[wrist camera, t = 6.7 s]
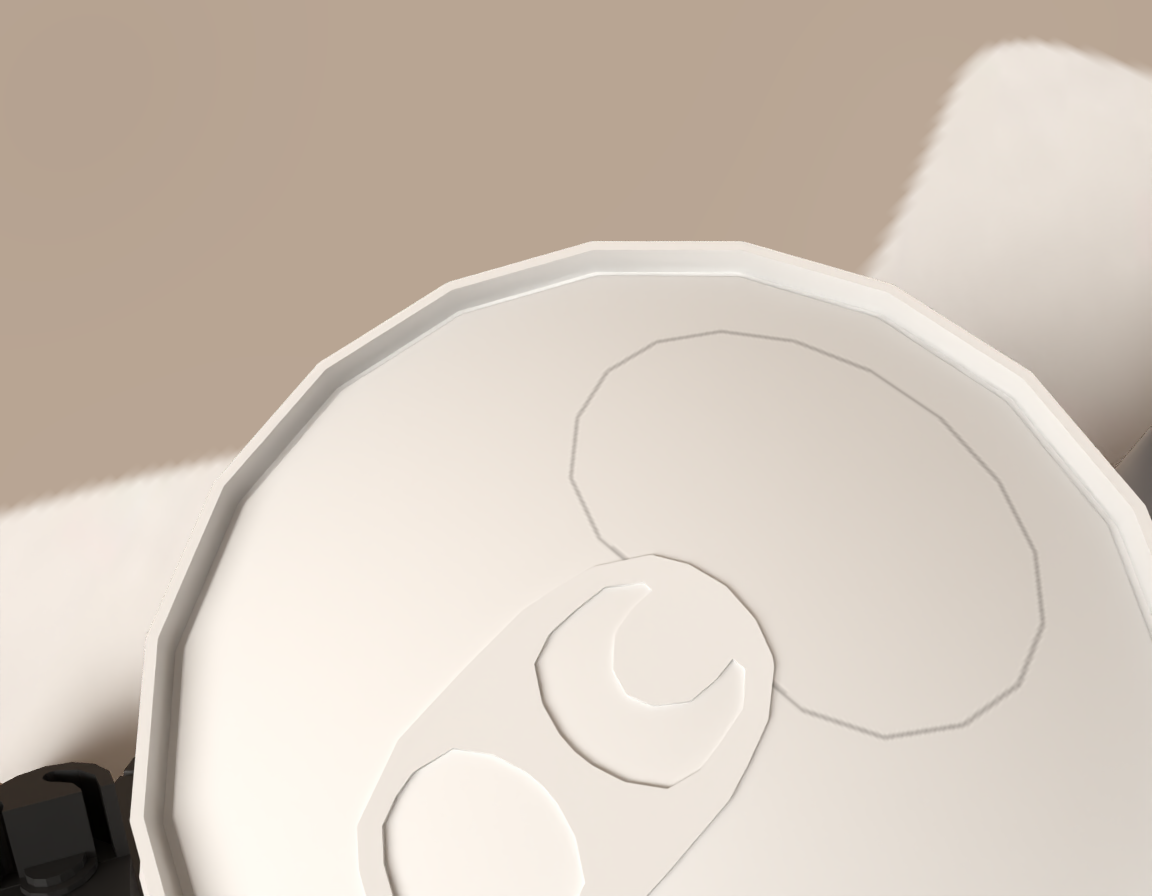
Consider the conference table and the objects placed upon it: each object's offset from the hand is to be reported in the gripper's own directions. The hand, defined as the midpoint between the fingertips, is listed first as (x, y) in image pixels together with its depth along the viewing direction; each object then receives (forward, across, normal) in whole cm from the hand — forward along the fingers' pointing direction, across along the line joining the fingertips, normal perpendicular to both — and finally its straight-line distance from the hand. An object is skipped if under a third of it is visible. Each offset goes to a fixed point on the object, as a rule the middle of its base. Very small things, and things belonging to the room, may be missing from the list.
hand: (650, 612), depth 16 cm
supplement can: (+2, 0, -7) cm, 7 cm away
